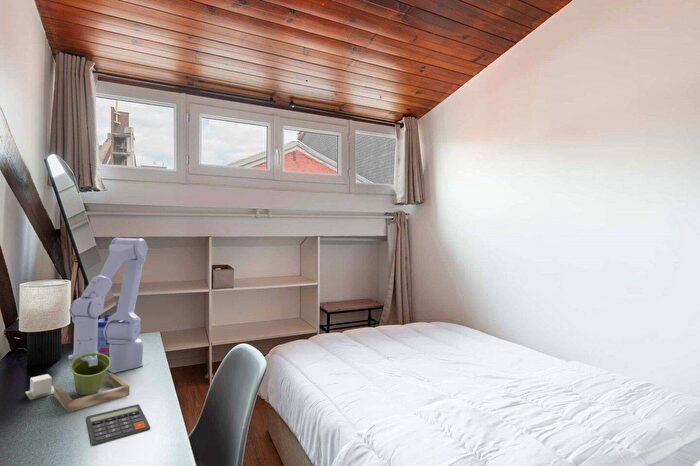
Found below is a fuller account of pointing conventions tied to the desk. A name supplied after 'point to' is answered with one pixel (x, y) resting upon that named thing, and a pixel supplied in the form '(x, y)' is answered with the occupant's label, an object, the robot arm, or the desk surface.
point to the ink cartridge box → (102, 342)
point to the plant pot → (89, 373)
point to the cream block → (40, 384)
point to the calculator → (116, 424)
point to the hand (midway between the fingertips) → (84, 384)
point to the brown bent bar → (83, 402)
